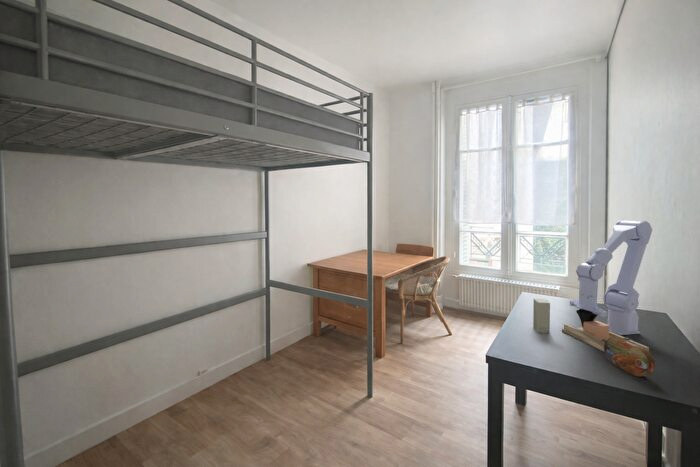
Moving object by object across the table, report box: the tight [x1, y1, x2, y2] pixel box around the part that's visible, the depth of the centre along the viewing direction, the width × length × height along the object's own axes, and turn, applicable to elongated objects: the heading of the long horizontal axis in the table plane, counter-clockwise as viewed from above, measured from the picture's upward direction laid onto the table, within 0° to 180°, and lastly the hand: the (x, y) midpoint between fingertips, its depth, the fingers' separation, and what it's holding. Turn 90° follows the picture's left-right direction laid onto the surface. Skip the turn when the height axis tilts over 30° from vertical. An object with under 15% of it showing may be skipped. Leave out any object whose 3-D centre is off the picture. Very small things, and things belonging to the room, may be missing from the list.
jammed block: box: [583, 320, 609, 339], centre depth 125 cm, size 6×5×5 cm
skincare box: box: [532, 298, 551, 334], centre depth 135 cm, size 6×4×12 cm
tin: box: [603, 338, 656, 377], centre depth 103 cm, size 15×3×8 cm, turn 5°
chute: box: [561, 323, 652, 355], centre depth 122 cm, size 12×24×3 cm, turn 10°
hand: (586, 329), depth 129 cm, fingers closed
